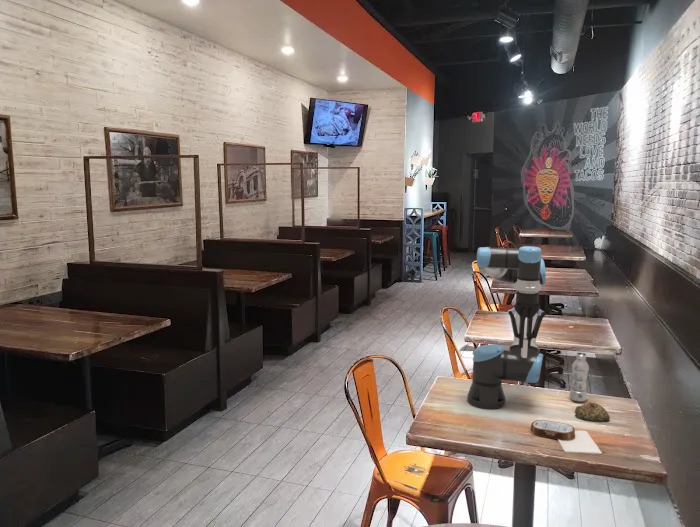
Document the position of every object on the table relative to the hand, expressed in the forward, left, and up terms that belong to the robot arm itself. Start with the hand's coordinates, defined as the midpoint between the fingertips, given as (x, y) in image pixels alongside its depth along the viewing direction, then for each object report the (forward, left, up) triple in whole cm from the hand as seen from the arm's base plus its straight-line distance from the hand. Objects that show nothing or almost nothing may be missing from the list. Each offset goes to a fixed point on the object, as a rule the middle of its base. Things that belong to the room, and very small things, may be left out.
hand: (523, 356), depth 197 cm
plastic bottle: (+30, +31, -29) cm, 52 cm away
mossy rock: (+31, +17, -29) cm, 46 cm away
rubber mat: (+18, -6, -28) cm, 34 cm away
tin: (+10, -5, -27) cm, 29 cm away
